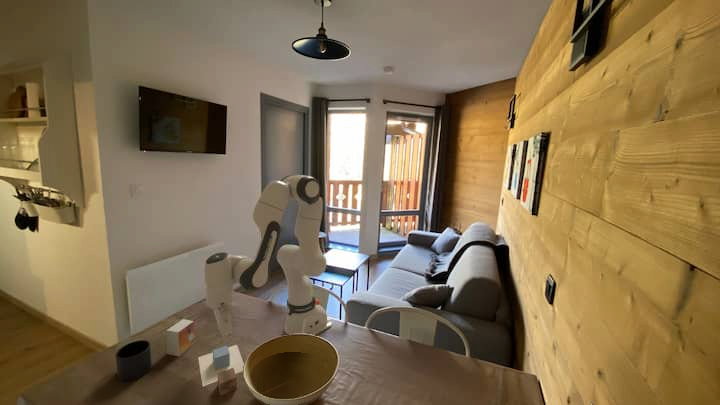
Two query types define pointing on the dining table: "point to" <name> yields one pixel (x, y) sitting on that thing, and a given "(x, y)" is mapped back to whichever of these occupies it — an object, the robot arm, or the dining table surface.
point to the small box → (180, 337)
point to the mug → (133, 360)
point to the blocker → (227, 381)
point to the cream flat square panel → (211, 374)
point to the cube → (221, 357)
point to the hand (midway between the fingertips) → (222, 330)
